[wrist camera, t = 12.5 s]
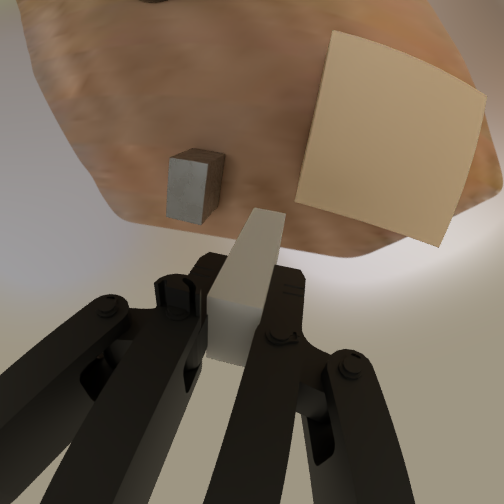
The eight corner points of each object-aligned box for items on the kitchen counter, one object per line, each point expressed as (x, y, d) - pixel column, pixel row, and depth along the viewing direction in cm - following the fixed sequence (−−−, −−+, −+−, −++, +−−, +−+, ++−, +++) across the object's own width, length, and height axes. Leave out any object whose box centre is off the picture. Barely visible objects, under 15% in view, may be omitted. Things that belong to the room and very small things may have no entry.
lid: (332, 32, 18) (332, 29, 17) (482, 96, 16) (486, 96, 16) (295, 198, 27) (294, 201, 26) (435, 243, 25) (438, 247, 24)
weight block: (192, 148, 37) (169, 157, 31) (225, 153, 37) (208, 163, 31) (187, 199, 41) (166, 216, 35) (217, 206, 41) (201, 225, 35)
